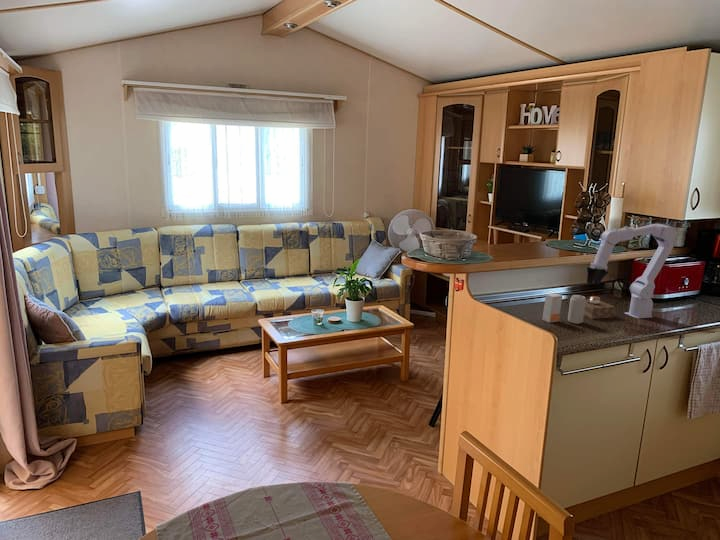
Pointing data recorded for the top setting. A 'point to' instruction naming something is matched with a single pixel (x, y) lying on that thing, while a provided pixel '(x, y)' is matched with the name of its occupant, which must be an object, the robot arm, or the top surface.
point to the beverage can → (576, 309)
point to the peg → (594, 300)
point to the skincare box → (552, 308)
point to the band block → (599, 310)
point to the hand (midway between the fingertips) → (592, 283)
